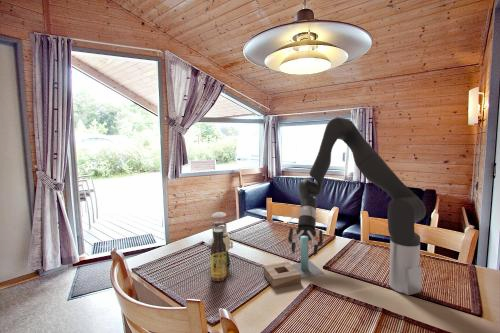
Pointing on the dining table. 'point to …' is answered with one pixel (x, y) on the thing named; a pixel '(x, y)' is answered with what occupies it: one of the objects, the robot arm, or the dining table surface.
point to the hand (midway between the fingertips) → (304, 253)
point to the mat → (311, 272)
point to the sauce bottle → (218, 257)
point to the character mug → (227, 242)
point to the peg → (304, 253)
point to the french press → (218, 222)
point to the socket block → (282, 275)
